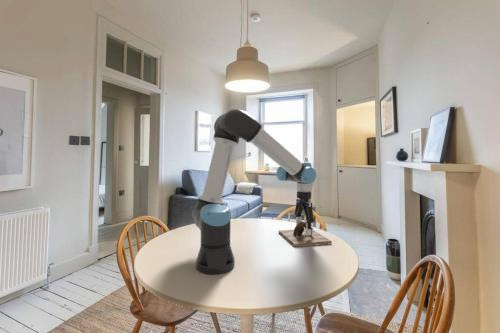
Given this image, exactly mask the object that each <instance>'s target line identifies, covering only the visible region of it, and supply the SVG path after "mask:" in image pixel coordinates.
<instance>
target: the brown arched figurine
mask: <svg viewBox="0 0 500 333" xmlns="http://www.w3.org/2000/svg"><path fill="white" fill-rule="evenodd" d="M304 229H306V221H302V220H301V223H299V224H297V225H296V224H295V227H294V229H293V230H294V233H293V234H294V235H295V236H297V235H298V236H301V235H302V233H303V231H304ZM312 230H314V228H313V227H312V226H311V235H310V237H311V236H312Z"/></svg>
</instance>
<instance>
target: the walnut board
mask: <svg viewBox="0 0 500 333" xmlns="http://www.w3.org/2000/svg"><path fill="white" fill-rule="evenodd" d="M293 233H294V229H283V230H282V229H281V230H280V229H279V230H278V234H279V235H280V236H282V238H284V240H286V241H287V242H288V243H289V244H291V245H292V246H293V247H294V248H297V247H300V248H301V247H309V246H308V245H312V246H317V245H316V244H324V245H328V244H327V243H331V244H332V240H330V239H329V238H328V237H326V236H324V235H322V234H320V232H317V231H316V230H314V229H313V230H312V236H311V237H310V235H306V229H305V228H304V231H303V233H302V235H301V236H298V235H297V236H295V235H294V234H293Z"/></svg>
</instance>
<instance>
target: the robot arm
mask: <svg viewBox="0 0 500 333" xmlns="http://www.w3.org/2000/svg"><path fill="white" fill-rule="evenodd" d="M213 130H214V133H213V136H212V137H213V138H212V139H213V141H214V142H215V144H214V148H213V152H212V157H211V160H210V163H209V164H210V165H209V167H208V172H207V176H206V180H205V184H204V188H203V191H202V194H201V195H200V196H198V198H197V202H196V204H195V205H194V207H193V209H192V212H191V216H192V220H193V223H194V224H195V226H196V227H197V228H198V229H199V230H200V247H199V250H198V254H197V257H196V259H195V260H196V261H195V268H196V270H197V271H198V272H200V273H202V274H207V275H219V274H223V273H226V272H230V271H231V270H232V269H233V268H234V267H235V264H236V263H235V256H234V253H233V250H232V246H231V219H232V215H231V210H230V208H229V207H228V206H227V205H225V204H224V203H225V202H224V201H223V200H222V199H223V194H224V190H225V185H226V180H227V178H228V172H229V168H230V164H231V160H232V157H233V153H234V148H235V147H237V146H238V145H239V142H240V139H241V140H244V141H245V142H246V143H251V144H252V145H253V146H254V147H256V148H258V150H260V151H261V152H262V153H263V154H264V155H266V156H267V157H268V158H270V159H271V160H272V161H273V162H275V164H276V165H278V167H277V170H276V178H277V179H278V180H279V181H281V182H282V181H283V182H289V181H290V182H295V183H296V200H295V201H296V203H295V210H294V216H295V217H296V218H295V219H296V224H295V226H296V225H297V224H299V223H301V221H302V213H303V212H304V217H305V220H306V221H305V223H306V235H311V227H312V223H315V218H314V212H313V203H312V202H310V200H311V199H312V192H311V191H312V186H313V185H312V184H313V183H314V182H315V180H316V178H317V172H316V169H314V168H313V167H312V163H311V162H310V161H309V162H307V161H306V162H305V161H303V162H301V160H299V159H298V158H297V157H296V156H295V155H293V153H291V151H289V150H288V149H286V148H285V147H284V146H283V145H282V144H281V143H279V142H278V141H277V140H276V139H275V138H274V137H273V136H272V135H270V134H269V133H268V132H267V131H266V130H265V129H263V124H261V123H260V122H259V121H258V120H257V119H256V118H254V117H253V116H252V115H251V114H249V113H248V112H246V111H245V110H242V109H239V108H238V109H237V108H235V109H230V110H228V111H227V112H225V113H222V114H221V115H219V117H217V119H215V121H214V124H213Z"/></svg>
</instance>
